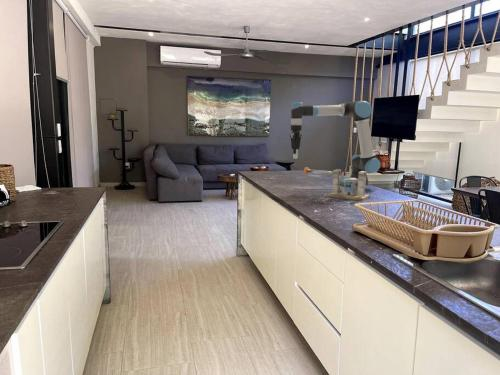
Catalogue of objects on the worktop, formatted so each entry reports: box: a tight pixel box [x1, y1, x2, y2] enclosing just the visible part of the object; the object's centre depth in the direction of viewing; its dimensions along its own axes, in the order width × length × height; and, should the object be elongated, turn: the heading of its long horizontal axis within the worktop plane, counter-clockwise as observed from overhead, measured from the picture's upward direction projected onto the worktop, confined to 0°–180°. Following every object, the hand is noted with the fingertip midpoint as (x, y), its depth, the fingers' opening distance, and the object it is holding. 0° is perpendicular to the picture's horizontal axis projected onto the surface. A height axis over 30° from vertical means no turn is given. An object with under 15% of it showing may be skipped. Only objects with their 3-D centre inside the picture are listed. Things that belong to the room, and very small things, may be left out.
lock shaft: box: [302, 166, 334, 176], centre depth 259 cm, size 5×24×5 cm, turn 55°
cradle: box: [326, 168, 371, 202], centre depth 248 cm, size 14×24×18 cm, turn 55°
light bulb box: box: [339, 177, 358, 196], centre depth 249 cm, size 11×7×11 cm, turn 105°
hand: (295, 158), depth 268 cm, fingers closed
